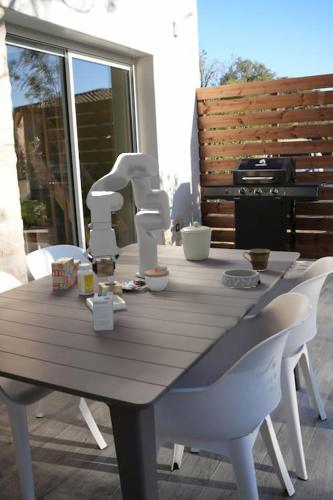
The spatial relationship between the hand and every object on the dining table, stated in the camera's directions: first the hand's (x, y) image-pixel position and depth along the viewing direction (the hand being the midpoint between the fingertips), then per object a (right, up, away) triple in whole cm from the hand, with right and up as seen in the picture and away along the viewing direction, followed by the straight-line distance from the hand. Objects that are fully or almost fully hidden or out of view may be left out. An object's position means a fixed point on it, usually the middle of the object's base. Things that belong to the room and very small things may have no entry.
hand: (104, 271), depth 197 cm
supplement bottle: (-10, -11, +23) cm, 27 cm away
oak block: (+1, -12, +15) cm, 19 cm away
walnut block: (0, -1, 0) cm, 1 cm away
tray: (0, -14, +3) cm, 14 cm away
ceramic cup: (+69, -2, +56) cm, 89 cm away
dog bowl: (+58, -7, +32) cm, 66 cm away
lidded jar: (+20, -9, +27) cm, 34 cm away
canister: (+41, +3, +89) cm, 98 cm away
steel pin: (+1, -11, +15) cm, 18 cm away
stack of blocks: (-22, -8, +42) cm, 48 cm away
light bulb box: (+3, -18, -20) cm, 27 cm away
